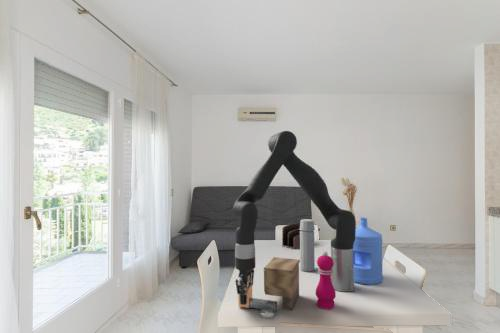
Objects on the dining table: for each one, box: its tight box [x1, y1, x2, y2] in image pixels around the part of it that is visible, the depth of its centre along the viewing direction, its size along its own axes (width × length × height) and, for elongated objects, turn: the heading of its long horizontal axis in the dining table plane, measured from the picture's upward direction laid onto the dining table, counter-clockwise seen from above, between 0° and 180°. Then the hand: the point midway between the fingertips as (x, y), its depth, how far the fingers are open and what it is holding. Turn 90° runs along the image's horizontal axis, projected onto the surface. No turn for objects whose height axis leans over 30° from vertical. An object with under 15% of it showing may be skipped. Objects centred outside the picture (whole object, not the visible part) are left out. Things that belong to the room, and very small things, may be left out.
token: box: [259, 308, 276, 320], centre depth 107 cm, size 5×5×2 cm
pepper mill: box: [315, 251, 337, 310], centre depth 114 cm, size 7×7×20 cm
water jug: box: [353, 217, 384, 286], centre depth 141 cm, size 16×16×28 cm
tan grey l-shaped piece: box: [237, 284, 278, 312], centre depth 112 cm, size 14×4×7 cm, turn 71°
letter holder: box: [281, 223, 301, 250], centre depth 206 cm, size 10×20×14 cm, turn 134°
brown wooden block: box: [263, 257, 300, 311], centre depth 118 cm, size 11×15×14 cm
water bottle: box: [299, 218, 316, 273], centre depth 156 cm, size 9×8×25 cm
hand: (245, 301), depth 114 cm, fingers closed on tan grey l-shaped piece, 4 cm apart
